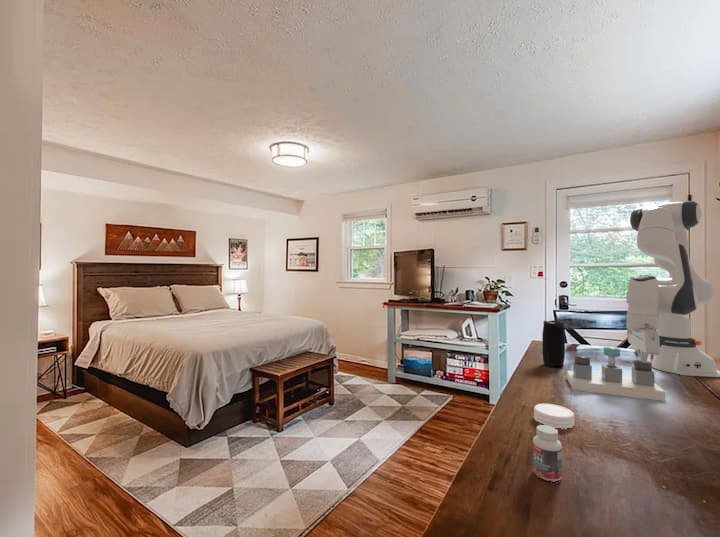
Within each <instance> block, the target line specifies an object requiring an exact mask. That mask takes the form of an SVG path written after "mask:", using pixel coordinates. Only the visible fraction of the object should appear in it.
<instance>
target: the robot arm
mask: <svg viewBox="0 0 720 537" xmlns="http://www.w3.org/2000/svg"><path fill="white" fill-rule="evenodd" d="M702 215H703V213H702V208H701V207H700V204H699V203H697V202H696V201H695V200H684V201H673V202H663V203H659V204H652V205H647V206H641V207H637V208H635V209H633V211H632V212H631V213H630V217H629V223H630V226H631V228H632V229H633V230H634V231H636V232H637V236H636V245H637V248H638V250H639V251H640V252H641V253H643V254H644V255H646V256H648V257H650V258H653V262H654V264H655V266H656V267H658V268H659V269H662V270H664V271H667V272H668V274H670V276H671V277H656V276H653V275H647V274H645V275H644V274H642V275H640V274H639V275H634V276H631V277H630V278H629V281H628V284H627V291H626V303H627V305H628V307H627V308H628V309H627V311H626V317H625V318H624V324H626V335H627V341H628V343H629V344H630V345H632V346H633V347H635V348H636V352H637V359H638V360H639V361H640V362H642V363H647V361H648V358H649V355H653V358H652V361H651V363H652V369H653V368H654V369H656V370H659V371H663V372H668V373H670V374H671V373H672V374H675V375H679V374H680V376H691V377H709V378H720V370H718V369H717V364H716V361H715V360H714V358H713V357H711V356H710V355H708V354H707V353H706V352H704V351H703V350H701V349H700V348H698V347H697V346H701V345H702V341H701V340H700V339H695V338H693V337H691V324H692V323H691V320H690V318H689V317H688V316H687V315H689V314H691V313H693V312H695V311H696V310H697V309H698V305H699V306H700V305H708V304H709V303H711V302H712V301H713V299H714V298H715V296H716V289H715V286H714V285H713V283H711V282H710V281H709V280H707V279H705V278H704V277H702V276H701V275H699V273H698V272H697V271H696V270H695V269H694V267H693V265H692V263H691V259H690V252H689V239H688V233H687V231H690V230H691V228H693V227H696V225H698V224H699V223H700V220H701V218H702Z"/></svg>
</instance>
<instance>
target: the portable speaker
mask: <svg viewBox="0 0 720 537" xmlns="http://www.w3.org/2000/svg"><path fill="white" fill-rule="evenodd" d="M541 335H542V338H541V340H542V341H541V342H542V348H541V349H542V350H541V351H542V352H541V353H542V362H543V364H544V366H545V365H546V366H545V367H548V366H549V367H548V368H554V367H560V368H561V367H563V368H564V363H565V354H566V335H565V324H564V322H562V321H560V320H549V321H548V320H543V328H542V334H541Z"/></svg>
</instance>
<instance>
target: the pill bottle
mask: <svg viewBox="0 0 720 537" xmlns="http://www.w3.org/2000/svg"><path fill="white" fill-rule="evenodd" d="M533 471H534V472H535V473H536V474H537V475H539V476H541V477H542V478H545V479H548V480H553V481H555V480H556V481H557V480H560V479H561V478H562V479H563V476H562V475H563V445H562V442H561V441H560V440H559V429H555V428H554V427H551V426H547V425H542V424H539V425H537V426H536V435H535V436H533V438H532V472H533ZM562 479H561V480H562Z"/></svg>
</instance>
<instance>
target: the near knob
mask: <svg viewBox="0 0 720 537" xmlns="http://www.w3.org/2000/svg"><path fill="white" fill-rule="evenodd" d="M633 367H634V368H635V369H638V370H643V371H653V367H652V361H649V360H647V363H642V362H640V361H639V360H637V359H635V360H634V362H633Z"/></svg>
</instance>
